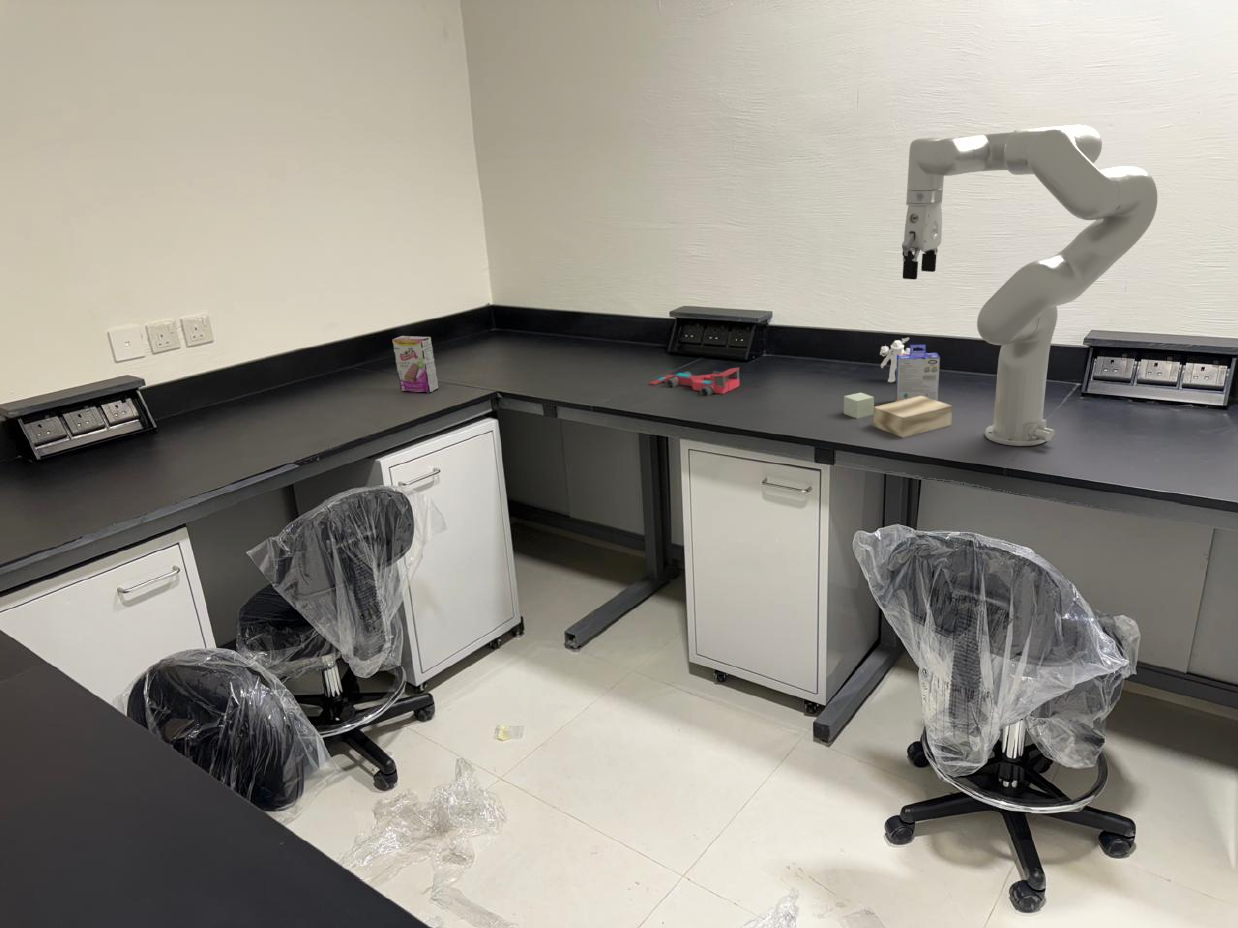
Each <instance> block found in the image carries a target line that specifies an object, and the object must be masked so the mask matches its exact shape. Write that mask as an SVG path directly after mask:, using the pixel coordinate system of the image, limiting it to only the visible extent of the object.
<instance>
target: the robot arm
mask: <svg viewBox="0 0 1238 928" xmlns="http://www.w3.org/2000/svg"><path fill="white" fill-rule="evenodd" d="M1102 146H1103V142H1102V137H1101V136H1100V133H1099V132H1098V131H1097V130H1096V129H1094V128H1092V127H1090V126H1089V125H1088V126H1087V125H1082V124H1072V125H1060V126H1059V125H1057V126H1050V127H1049V126H1048V127H1047V126H1046V127H1045V126H1044V127H1036V128H1034V127H1033V128H1020V129H1016V130H1014V131H1012V132H998V133H989V134H988V133H986V134H985V133H984V134H983V133H982V134H974V135H964V136H963V135H961V136H957V137H949V138H941V137H924V138H923V137H922V138H916V139H914V140H912V141H911V143H910V145H909V154H908V155H909V156H908V169H907V170H908V171H907V183H906V184H907V186H906V187H907V188H906V189H907V190H906V204H905V205H906V206H907V212H906V216H905V217H906V218H905V226H904V235H903V237H904V238H903V241H902V244H901V248H902V252H901V253H902V261H903V262H902V263H903V264H902V279H904V280H914V281H915V280H917V279H918V270H919V269H918V268H919V266H918V265H919V261H918V257H919V255H920V252H923V253H922V254H921V266H920V267H921V269H920V270H921V272H928V273H929V272H930V273H933V272H934V273H935V271H936V269H937V255H938V248H939V247H940V245H941V244H942V232H943V231H942V229H943V227H942V226H943V225H942V224H943V213H942V212H943V210H942V204H943V195H944V194H943V191H944V181H945V177H948V176H950V177H951V176H957V175H962V174H969V173H976V172H990V171H991V172H992V171H993V172H994V171H1008V172H1009V173H1010V174H1012V175H1015V176H1018V175H1019V176H1020V175H1024V176H1025V175H1034V176H1035V177H1036V178H1037V179H1038V181H1039V182H1040V183H1041V184H1042V185H1043V186H1044V187H1045V188H1046V189H1047V191H1048V192H1049V193H1050V194H1051V195H1052V196H1053V197H1055V199H1056V200H1057V201H1058V202H1059V203H1060V204H1061V206H1062V207H1064V209H1065V210H1067V211H1068V212H1069V214H1071V215H1073V216H1074V217H1076V218H1078V219H1081V220H1084V221H1093V222H1092V223H1091V224H1090V225H1088V226H1086V227H1084V229H1082V230H1081V231H1080V232H1079V233H1078V234H1077V236H1075V238H1074V239H1073V240H1071V242H1070V243H1069V244H1067V245H1066V246H1065V247H1064V248H1063V249H1062V250H1060V251H1059V252H1057V253H1056V254H1054V255H1051V256H1050V257H1046V258H1045V257H1044V258H1041V259H1037V260H1034V261H1031V262H1029V263H1027V264H1025V265H1024V266H1022V267H1020V268H1019V269H1018V270H1017V271H1016V272H1015V273H1013V275H1011V277H1009V279H1008V280H1007V281H1005V283H1003V285H1002V286H1000V288H998V290H997V291H996V292H995V293H993V295H992V296H991V297H990V298H989V299H988V300H987V301H986V302H985V303H984V304H983V306H982V307H981V309H980V311H979V313H978V316H977V321H976V327H977V331H978V334H979V336H980V337H981V338H982V339H983V340H984V341H985V342H986V343H988V344H992V345H993V346H994V345H995V346H1001V347H1000V351H999V355H998V362H997V363H998V364H997V365H998V366H997V374H996V376H997V377H996V385H995V386H996V390H995V401H994V411H993V412H994V415H993V424H991V425H989V426H988V427H987V428H985V432H984V435H985V437H986V438H987V440H989V441H992V442H994V443H998V444H1000V445H1006V446H1015V447H1016V446H1017V447H1028V446H1029V447H1030V446H1037V445H1041V444H1044V443H1045V442H1049V441H1051V440H1052V439H1053V438H1052V437H1054V436H1055V434H1056V430H1055V429H1053V428H1049V427H1047V419H1044V404H1045V397H1046V395H1045V394H1046V388H1047V387H1046V385H1047V375H1048V367H1049V366H1048V365H1049V356H1050V350H1051V345H1052V340H1053V336H1054V333H1055V330H1056V325H1057V321H1058V306H1062V305H1065V304H1068V303H1071V302H1073V301H1075V300H1077V299H1078V298H1079V297H1080V296H1081V295H1083V293H1084V292H1085V291H1087V290H1088V288H1090V287H1091V285H1093V284H1094V283H1095V282H1096V281H1098V279H1099V278H1100V277H1101V276H1103V275H1104V274H1105V273H1106V272H1107V271H1108V270H1109V269H1110V268H1111V267H1112V266H1113V265H1114V264H1115V263H1116V262H1117V261H1118V260H1120V258H1122V257H1123V256H1124V255H1125V254H1126V253H1127V252H1128V251H1129V250H1130V249H1131V248H1132V247H1133V246H1134V245H1136V243H1138V241H1139V240H1140V239H1141V238H1142V237H1143V236H1144V234H1145V233H1146V231H1147V230H1148V229H1149V227H1150V225H1151V223H1152V221H1153V220H1154V217H1155V214H1156V211H1157V206H1158V189H1157V186H1156V183H1155V180H1154V178H1153V177H1152V175H1150V173H1149V172H1147V171H1146V170H1144V169H1143V168H1140V167H1136V166H1131V165H1130V166H1126V165H1125V166H1115V167H1111V168H1110V167H1109V168H1104V169H1098V167H1096V166H1095V165H1094V164H1095V162H1096V161H1097V160H1098V159H1099V156H1100V155H1101V152H1102V148H1103V147H1102Z"/></svg>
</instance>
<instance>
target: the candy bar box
mask: <svg viewBox="0 0 1238 928" xmlns="http://www.w3.org/2000/svg"><path fill="white" fill-rule="evenodd" d="M391 341H392V346H393V353H394V359H395V363H396V369H397V370H396V371H397V375H398V380H399V387H400V388H399V389H400V391H401V390H406V391H421V392H431V391H433V390H435V389H437V388H439V389H440V386H439V382H438V381H439V380H438V375H437V369H436V362H435V356H434V350H433V343H432V337H431V336H412V335H411V336H410V335H401V336H398V337H396V338H393V339H392V340H391Z"/></svg>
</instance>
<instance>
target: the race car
mask: <svg viewBox="0 0 1238 928" xmlns="http://www.w3.org/2000/svg"><path fill="white" fill-rule="evenodd" d="M661 383H665V386H666V388H669V387H671V388H677V387H678V386H679V385H683V386H690V387H691V388H692V389H693V390H694V391H699V392H700V395H701V396H703V395H706V396H707V397H709V396H710V395H713V394H721V395H723V394H725V393H727V392H730V391H733V390H735V389H736V388H738V387H740V367H733V368H729V369H726V370H725V371H724V370H723V371H719V370H718V371H717V370H712V373H710V374H702V375H692V373H691V372H690V371H684V372H682V373H681V372H678V373H677V374H667V375H664V376H662V377H660V378H657V379H655V380H653V381H650V382H649V383H648V384H649V385H654V386H656V385H658V384H661Z"/></svg>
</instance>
